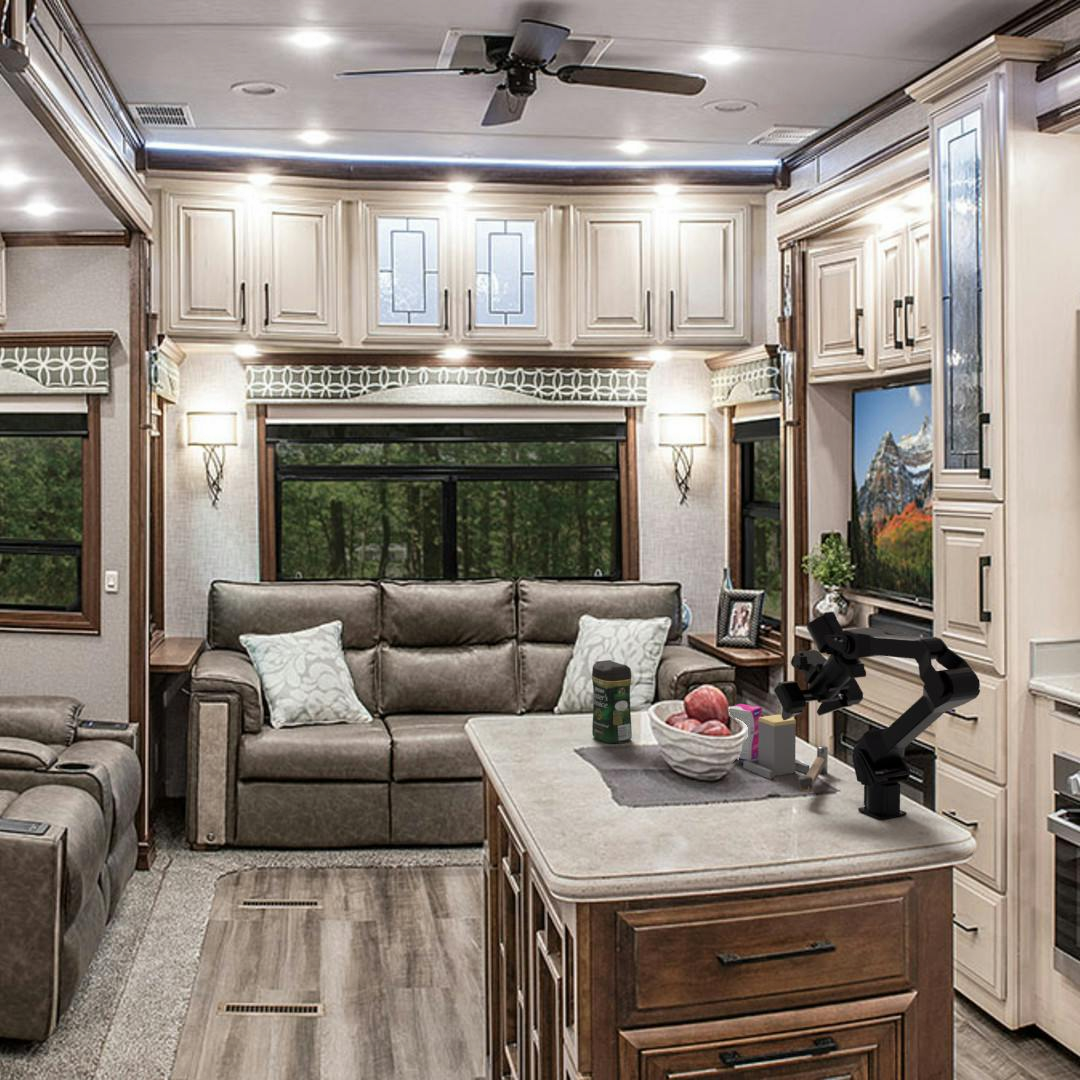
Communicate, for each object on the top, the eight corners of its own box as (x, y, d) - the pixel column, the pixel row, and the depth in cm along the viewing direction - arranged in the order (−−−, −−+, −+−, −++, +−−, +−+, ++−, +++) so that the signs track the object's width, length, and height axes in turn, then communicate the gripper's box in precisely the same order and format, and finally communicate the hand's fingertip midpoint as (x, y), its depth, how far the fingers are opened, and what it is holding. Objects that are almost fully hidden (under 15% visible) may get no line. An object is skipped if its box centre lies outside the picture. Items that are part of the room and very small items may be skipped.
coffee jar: (586, 737, 294) (586, 659, 292) (615, 732, 298) (615, 656, 296) (608, 746, 285) (607, 666, 284) (637, 741, 289) (636, 663, 288)
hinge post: (829, 773, 261) (829, 747, 260) (821, 774, 260) (821, 749, 259) (823, 770, 263) (823, 745, 262) (814, 772, 262) (814, 746, 261)
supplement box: (749, 762, 270) (750, 711, 269) (725, 758, 274) (726, 707, 273) (762, 757, 275) (762, 706, 274) (738, 753, 278) (738, 702, 277)
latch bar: (827, 763, 259) (827, 752, 259) (811, 792, 239) (811, 780, 238) (814, 762, 260) (814, 751, 260) (797, 791, 240) (797, 779, 239)
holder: (809, 772, 261) (809, 765, 261) (769, 779, 257) (769, 771, 257) (781, 762, 270) (781, 754, 270) (742, 768, 266) (743, 760, 266)
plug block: (795, 772, 262) (795, 719, 261) (773, 775, 260) (774, 722, 259) (779, 766, 267) (779, 714, 266) (758, 769, 265) (758, 717, 264)
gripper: (854, 635, 253) (820, 679, 263) (780, 643, 245) (747, 688, 255) (880, 680, 246) (843, 723, 257) (804, 689, 238) (769, 733, 249)
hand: (800, 715), depth 255 cm, fingers open, 9 cm apart
